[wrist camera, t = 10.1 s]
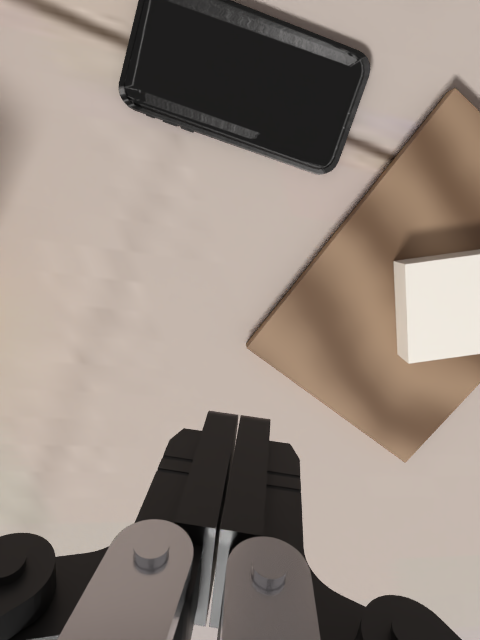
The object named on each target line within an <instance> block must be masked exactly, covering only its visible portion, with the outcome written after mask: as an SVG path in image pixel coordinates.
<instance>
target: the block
mask: <svg viewBox="0 0 480 640" xmlns="http://www.w3.org/2000/svg"><path fill="white" fill-rule="evenodd" d="M394 285H395V308H396V332H397V355H399V356H400V357H401V358H402V359H404V360H405V361H406V362H407V363H408V364H410V363H417V362H424V361H432V360H439V359H446V358H453V357H460V356H468V355H475V354H480V249H478V250H471V251H463V252H456V253H449V254H441V255H434V256H426V257H419V258H412V259H404V260H397V261H394Z"/></svg>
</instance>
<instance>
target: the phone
mask: <svg viewBox="0 0 480 640" xmlns="http://www.w3.org/2000/svg"><path fill="white" fill-rule="evenodd" d="M369 73H370V63H369V61H368V58H367V57H366V56H365V55H364V54H363V53H362V52H360V51H358V50H356V49H353V48H351V47H348V46H346V45H343V44H341V43H338V42H335V41H333V40H330V39H328V38H325V37H323V36H320V35H318V34H315V33H313V32H310V31H307V30H305V29H302V28H300V27H297V26H295V25H292V24H290V23H287V22H284V21H282V20H279V19H277V18H274V17H272V16H269V15H267V14H264V13H262V12H259V11H256V10H254V9H251V8H249V7H246V6H244V5H241V4H239V3H236V2H233V1H231V0H139V1H138V6H137V10H136V14H135V18H134V22H133V26H132V31H131V35H130V39H129V43H128V47H127V52H126V56H125V60H124V64H123V68H122V73H121V77H120V81H119V93H120V96H121V98H122V100H123V101H124V102H125V103H126V104H127V106H128V107H129V108H131V109H133V110H135V111H138V112H141V113H143V114H146V116H149V117H152V118H158V119H160V120H163V122H165V123H168V124H171V125H174V126H180V127H181V128H182V129H184V130H187V131H190V132H197V133H200V134H203V135H206V136H209V137H211V138H214V139H217V140H220V141H223V142H226V143H228V144H231V145H234V146H237V147H240V148H243V149H245V150H248V151H251V152H254V153H257V154H260V155H262V156H265V157H268V158H271V159H274V160H277V161H279V162H282V163H285V164H288V165H291V166H294V167H296V168H299V169H302V170H305V171H308V172H311V173H313V174H319V175H320V174H325V173H328V172H330V171H332V170H333V169H334V168H335V167H336V165H337V163H338V161H339V159H340V156H341V153H342V150H343V148H344V145H345V142H346V139H347V136H348V134H349V131H350V128H351V125H352V122H353V119H354V117H355V114H356V111H357V108H358V105H359V103H360V100H361V97H362V94H363V91H364V89H365V86H366V83H367V80H368V77H369Z"/></svg>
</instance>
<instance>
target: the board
mask: <svg viewBox="0 0 480 640" xmlns="http://www.w3.org/2000/svg"><path fill="white" fill-rule="evenodd" d="M478 249H480V111H479V110H477V109H476V108H475V107H474V106H473V105H472V104H471V103H470V102H469V101H468V100H467V99H466V98H465V97H464V96H463V95H462V94H461V93H460V92H459V91H458V90H457V89H456V88H454V89H452V90H450V91H448V92H447V93H446V94H445V96H444V97H443V98H442V99H441V101H440V102H439V103H438V104H437V106H436V107H435V108H434V109H433V111H432V112H431V113H430V114H429V116H428V117H427V118H426V119H425V121H424V122H423V123H422V124H421V126H420V127H419V128H418V129H417V131H416V132H415V133H414V134H413V136H412V137H411V138H410V139H409V141H408V142H407V143H406V144H405V146H404V147H403V148H402V149H401V151H400V152H399V153H398V154H397V156H396V157H395V158H394V159H393V161H392V162H391V163H390V164H389V166H388V167H387V168H386V169H385V171H384V172H383V173H382V175H381V176H380V177H379V178H378V180H377V181H376V182H375V183H374V185H373V186H372V187H371V188H370V190H369V191H368V192H367V193H366V195H365V196H364V197H363V198H362V200H361V201H360V202H359V203H358V205H357V206H356V207H355V208H354V210H353V211H352V212H351V213H350V215H349V216H348V217H347V218H346V220H345V221H344V222H343V223H342V225H341V226H340V227H339V228H338V230H337V231H336V232H335V233H334V235H333V236H332V237H331V238H330V240H329V241H328V242H327V243H326V245H325V246H324V247H323V248H322V250H321V251H320V252H319V253H318V255H317V256H316V257H315V258H314V260H313V261H312V262H311V263H310V265H309V266H308V267H307V268H306V270H305V271H304V272H303V273H302V275H301V276H300V277H299V278H298V280H297V281H296V282H295V283H294V285H293V286H292V287H291V288H290V290H289V291H288V292H287V293H286V295H285V296H284V297H283V298H282V300H281V301H280V302H279V303H278V305H277V306H276V307H275V308H274V310H273V311H272V312H271V313H270V315H269V316H268V317H267V318H266V320H265V321H264V322H263V323H262V325H261V326H260V327H259V328H258V330H257V331H256V332H255V333H254V335H253V336H252V337H251V338H250V340H249V341H248V342H247V343H246V346H247V348H248V349H249V350H250V351H252V352H253V353H254V354H256V355H257V356H259V357H260V358H261V359H263V360H264V361H265V362H267V363H268V364H270V365H271V366H272V367H274V368H275V369H277V370H278V371H279V372H281V373H282V374H283V375H285V376H286V377H288V378H289V379H290V380H292V381H293V382H294V383H296V384H297V385H299V386H300V387H301V388H303V389H304V390H305V391H307V392H308V393H310V394H311V395H312V396H314V397H315V398H317V399H318V400H319V401H321V402H322V403H323V404H325V405H326V406H328V407H329V408H330V409H332V410H333V411H334V412H336V413H337V414H339V415H340V416H341V417H343V418H344V419H345V420H347V421H348V422H350V423H351V424H352V425H354V426H355V427H357V428H358V429H359V430H361V431H362V432H363V433H365V434H366V435H368V436H369V437H370V438H372V439H373V440H374V441H376V442H377V443H379V444H380V445H381V446H383V447H384V448H385V449H387V450H388V451H390V452H391V453H392V454H394V455H395V456H397V457H398V458H399V459H401V460H402V461H403V462H405V463H406V462H407V460H408V459H409V458H410V457H411V456H412V455H413V454H414V453H415V452H416V451H417V450H418V449H419V448H420V447H421V445H422V444H423V443H424V442H425V441H426V440H427V439H428V438H429V437H430V436H431V435H432V434H433V433H434V432H435V430H436V429H437V428H438V427H439V426H440V425H441V424H442V423H443V422H444V421H445V420H446V419H447V418H448V417H449V415H450V414H451V413H452V412H453V411H454V410H455V409H456V408H457V407H458V406H459V405H460V404H461V403H462V402H463V401H464V399H465V398H466V397H467V396H468V395H469V394H470V393H471V392H472V391H473V390H474V389H475V388H476V387H477V386H478V384H479V383H480V354H475V355H468V356H460V357H453V358H446V359H439V360H432V361H424V362H417V363H410V364H408V363H407V362H406V361H405V360H404V359H402V358H401V357H400V356H399V355H397V332H396V308H395V285H394V261H397V260H404V259H412V258H419V257H426V256H434V255H441V254H449V253H456V252H463V251H471V250H478Z"/></svg>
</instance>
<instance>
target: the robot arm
mask: <svg viewBox="0 0 480 640" xmlns="http://www.w3.org/2000/svg"><path fill="white" fill-rule="evenodd" d="M237 425H238V415H235V414H228V413H221V412H214V411H209V412H208V414H207V418H206V421H205V424H204V427H203V430H202V431H198V430H191V429H185V428H184V429H182V430H181V431H180V432H179V433H178V434H176V435H175V436H174V437H173V438H172V439H170V441H169V443H168V445H167V448H166V450H165V452H164V455H163V458H162V460H161V462H160V464H159V467H158V471H156V474H155V476H154V479H153V481H152V483H151V486H150V488H149V490H148V493H147V495H146V497H145V500H144V502H143V505H142V507H141V509H140V512H139V514H138V516H137V519H136V521H135V523H134V524H132V525H130V526H128V527H126V528H125V529H123V530H122V531H121V532H120V533H119V534H118V535H117V536H116V537H115V538H114V540H113V541H112V543H111V544H110V546H109V547H106V548H104V549H101V550H98V551H95V552H90V553H83V554H75V555H67V556H59V557H55V553H54V549H53V547H52V546H51V544H50V543H49V542H48V541H47V540H46V539H44V538H43V537H40V536H38V535H35V534H30V533H14V534H8V535H4V536H1V537H0V640H191V635H192V630H193V625H200V626H206V621H207V615H208V609H209V603H210V598H211V592H212V586H213V581H214V588H213V597H212V606H211V615H210V624H209V627H213V628H218V637H217V640H462V639H460V638H459V637H458V636H457V635H456V634H455V633H454V632H453V631H452V630H451V629H450V628H449V627H448V626H447V625H446V624H445V623H444V622H443V621H442V620H441V619H440V618H439V617H438V616H437V615H436V614H434V613H433V612H432V611H431V610H429V609H428V608H427V607H425V606H424V605H422V604H420V603H418V602H416V601H414V600H412V599H409V598H406V597H402V596H396V595H385V596H381V597H378V598H376V599H374V600H372V601H371V602H370V603H369V604H368V605H367V607H365V606H363V605H360V604H358V603H356V602H354V601H352V600H350V599H348V598H346V597H344V596H342V595H340V594H338V593H336V592H334V591H333V590H331V589H330V588H328V587H327V586H326V585H325V584H323V583H322V582H321V581H320V580H319V579H318V578H317V577H316V575H315V574H314V573H313V571H312V570H311V568H310V567H309V565H308V563H307V561H306V558H305V555H304V548H303V526H302V504H301V482H300V460H299V458H298V456H297V454H296V453H295V451H294V450H293V448H292V446H291V445H290V444H288V443H281V442H274V441H269V435H270V419H263V418H257V417H250V416H243V415H241V417H240V423H239V428H238V434H237V439H236V433H237ZM235 441H236V445H235ZM215 569H216V571H215ZM214 575H215V580H214Z"/></svg>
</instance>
